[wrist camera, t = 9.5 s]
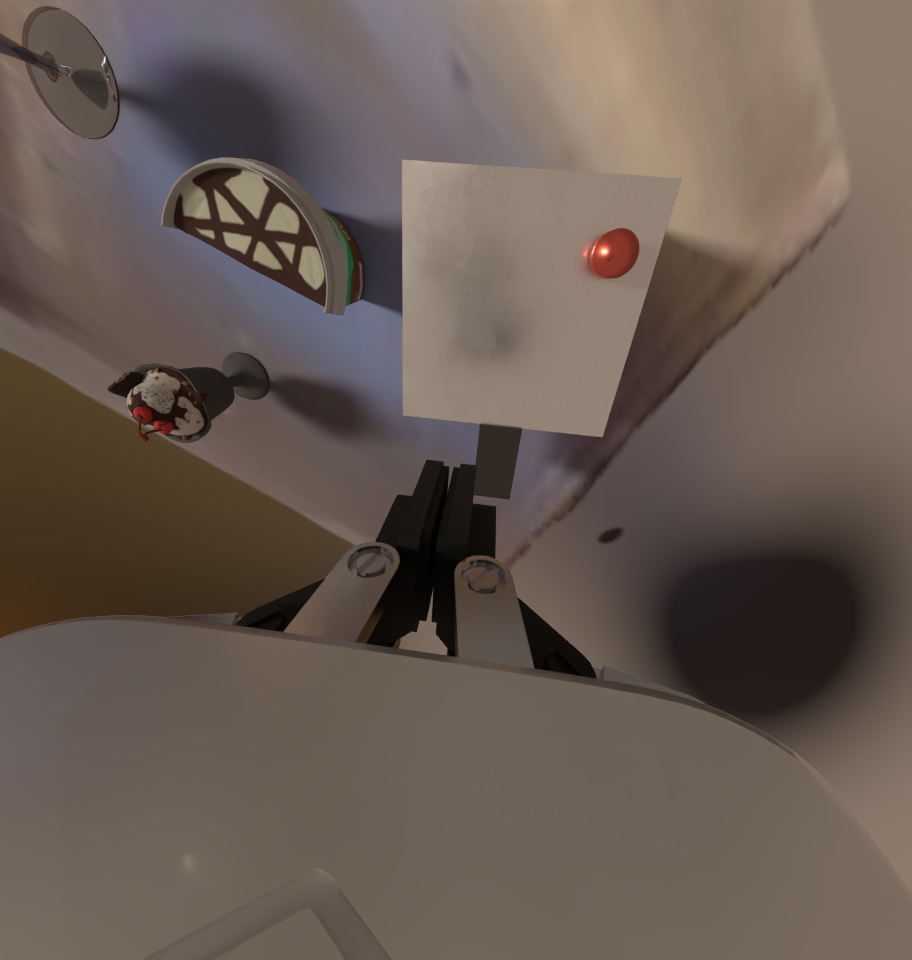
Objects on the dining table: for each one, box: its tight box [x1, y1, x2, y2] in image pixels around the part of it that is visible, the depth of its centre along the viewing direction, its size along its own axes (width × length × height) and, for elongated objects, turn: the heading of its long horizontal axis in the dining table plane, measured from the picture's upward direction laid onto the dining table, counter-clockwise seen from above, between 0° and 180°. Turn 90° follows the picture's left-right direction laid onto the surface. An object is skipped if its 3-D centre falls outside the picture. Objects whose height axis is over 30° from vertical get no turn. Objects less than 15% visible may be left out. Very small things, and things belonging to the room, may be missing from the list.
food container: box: [161, 157, 365, 315], centre depth 26 cm, size 12×6×10 cm, turn 63°
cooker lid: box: [402, 160, 682, 499], centre depth 23 cm, size 20×14×3 cm
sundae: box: [108, 352, 268, 443], centre depth 31 cm, size 7×7×15 cm
